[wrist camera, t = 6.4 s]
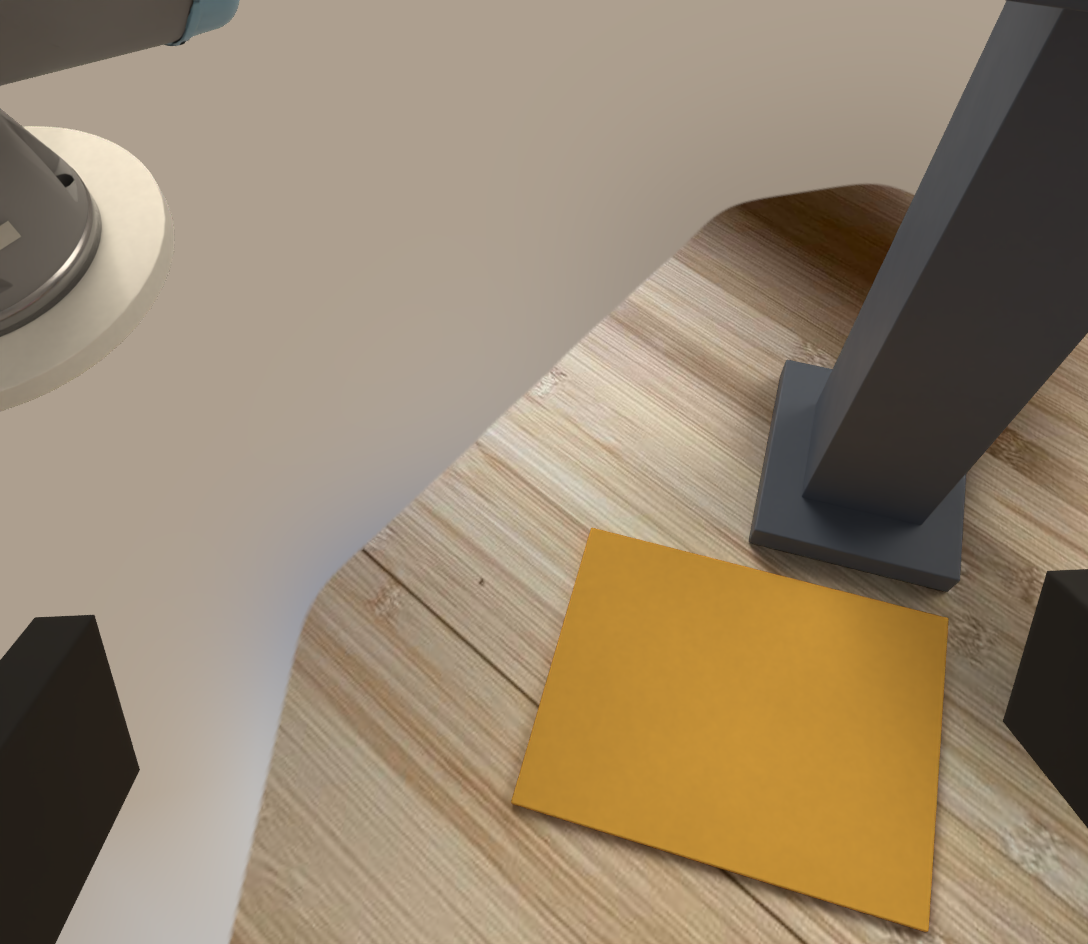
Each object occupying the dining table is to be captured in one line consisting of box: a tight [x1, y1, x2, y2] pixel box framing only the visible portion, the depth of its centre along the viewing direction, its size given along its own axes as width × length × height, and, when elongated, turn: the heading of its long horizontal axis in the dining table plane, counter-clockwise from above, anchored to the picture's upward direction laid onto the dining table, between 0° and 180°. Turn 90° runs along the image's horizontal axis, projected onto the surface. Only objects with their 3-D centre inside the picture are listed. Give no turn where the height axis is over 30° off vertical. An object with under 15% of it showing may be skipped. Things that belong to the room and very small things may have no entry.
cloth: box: [511, 528, 948, 932], centre depth 39 cm, size 18×14×1 cm
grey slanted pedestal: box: [749, 0, 1088, 592], centre depth 32 cm, size 10×11×30 cm
